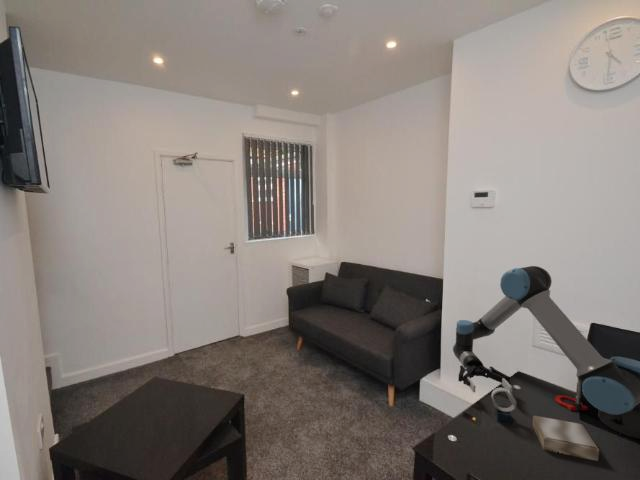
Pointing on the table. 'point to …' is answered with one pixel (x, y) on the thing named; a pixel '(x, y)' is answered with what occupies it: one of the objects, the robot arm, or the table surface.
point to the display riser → (565, 438)
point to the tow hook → (577, 402)
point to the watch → (503, 411)
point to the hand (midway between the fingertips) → (492, 389)
